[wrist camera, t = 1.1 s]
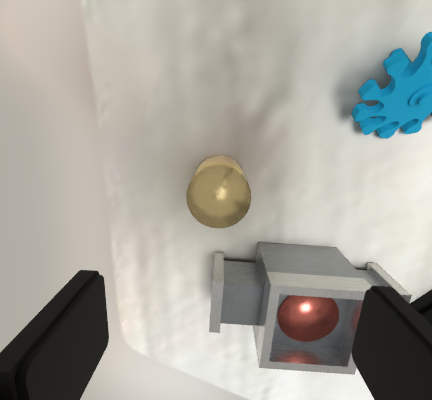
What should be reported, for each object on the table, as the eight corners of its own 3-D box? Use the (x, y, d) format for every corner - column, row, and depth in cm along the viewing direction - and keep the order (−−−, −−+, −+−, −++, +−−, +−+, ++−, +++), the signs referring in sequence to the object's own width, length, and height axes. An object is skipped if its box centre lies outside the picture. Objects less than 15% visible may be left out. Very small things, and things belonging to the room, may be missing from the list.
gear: (335, 143, 24) (417, 29, 16) (318, 98, 27) (380, -19, 18) (442, 143, 26) (574, 38, 17) (416, 100, 28) (517, -8, 20)
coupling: (196, 153, 27) (187, 163, 20) (246, 156, 27) (254, 168, 20) (194, 200, 28) (185, 225, 21) (241, 204, 28) (247, 230, 21)
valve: (215, 239, 29) (212, 281, 21) (379, 250, 29) (435, 296, 21) (210, 305, 32) (207, 363, 24) (361, 315, 31) (406, 378, 24)
